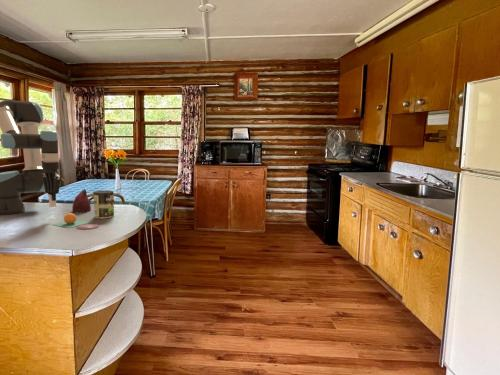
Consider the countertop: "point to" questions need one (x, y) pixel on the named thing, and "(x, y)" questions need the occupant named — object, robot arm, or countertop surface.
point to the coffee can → (103, 204)
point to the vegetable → (81, 203)
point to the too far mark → (87, 226)
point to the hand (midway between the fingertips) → (52, 206)
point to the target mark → (76, 223)
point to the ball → (70, 218)
